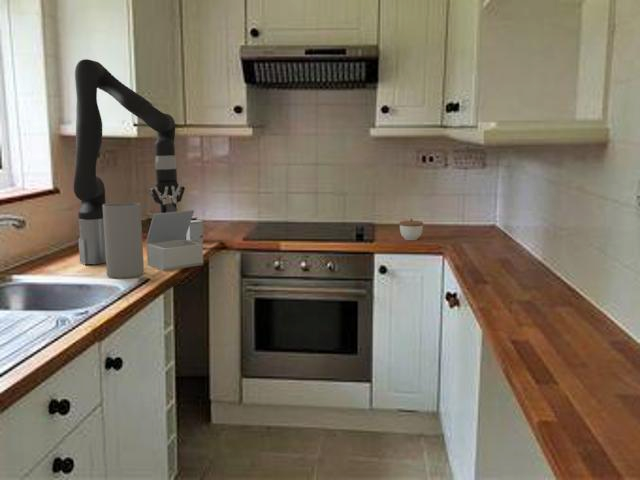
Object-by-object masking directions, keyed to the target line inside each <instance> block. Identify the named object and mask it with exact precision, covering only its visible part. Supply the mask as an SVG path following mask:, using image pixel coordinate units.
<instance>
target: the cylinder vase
mask: <svg viewBox="0 0 640 480" xmlns="http://www.w3.org/2000/svg"><path fill="white" fill-rule="evenodd" d="M141 209H142V207H141V203H140V202H134V201H133V202H132V201H130V202H128V201H126V202H125V201H124V202H123V201H121V202H111V203H110V202H109V203H105V204H103V220H104V236H105V251H106V262H105V263H106V264H105V265H106V266H105V267H106V276H107V277H109V278H111V277H113V278H112V279H118V278H123V279H131V278H137V277H141V276H143V274H144V273H145V266H144V262H145V261H144V247H143V244H144V243H143V230H142V228H143V227H142V225H143V224H142V212H141V211H142V210H141Z"/></svg>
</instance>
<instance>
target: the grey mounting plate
mask: <svg viewBox="0 0 640 480" xmlns="http://www.w3.org/2000/svg"><path fill="white" fill-rule="evenodd" d="M165 205H166V212H167V213H161V212H160V213H159V212H157V213H153V214H152V218H151V223H150V225H149V226H150V227H149V229H148V233H147V237H146V241H145V244H150V243H158V242H166V241H174V240H181V239H185V238H186V235H187V231H188V228H189V225H190V222H191V219H192V217H194V212H195V210H193V209H191V210H181V211H180V210H179V211H178V210H176V209H175V207H174V205H173V204H172V203H171V202H170V203H166V204H165Z"/></svg>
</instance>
